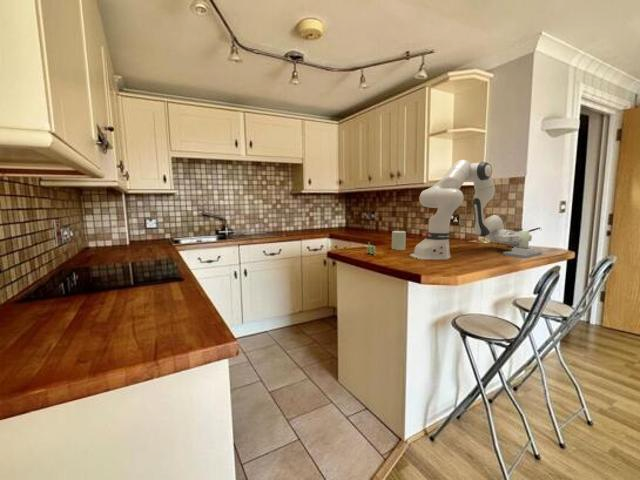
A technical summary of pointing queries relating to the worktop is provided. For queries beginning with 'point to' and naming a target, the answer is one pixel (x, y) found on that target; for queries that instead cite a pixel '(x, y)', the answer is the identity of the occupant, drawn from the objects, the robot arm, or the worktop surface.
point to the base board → (522, 252)
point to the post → (523, 239)
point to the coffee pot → (515, 244)
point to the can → (398, 240)
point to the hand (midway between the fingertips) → (525, 239)
